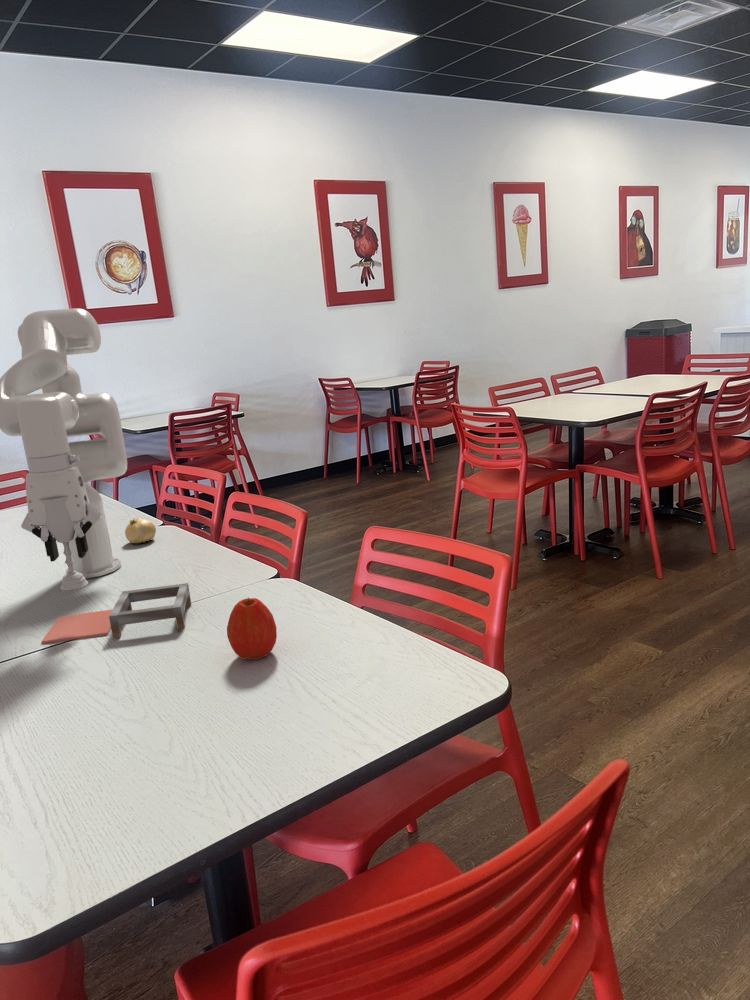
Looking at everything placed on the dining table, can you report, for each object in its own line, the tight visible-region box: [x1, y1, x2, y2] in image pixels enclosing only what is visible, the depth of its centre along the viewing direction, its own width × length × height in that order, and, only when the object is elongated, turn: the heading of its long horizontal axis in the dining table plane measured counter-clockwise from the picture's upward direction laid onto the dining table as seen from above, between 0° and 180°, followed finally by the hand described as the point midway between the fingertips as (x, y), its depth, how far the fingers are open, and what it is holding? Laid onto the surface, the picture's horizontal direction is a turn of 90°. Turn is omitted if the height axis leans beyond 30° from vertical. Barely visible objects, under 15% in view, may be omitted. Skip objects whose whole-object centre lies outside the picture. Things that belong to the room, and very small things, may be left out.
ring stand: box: [109, 582, 192, 640], centre depth 139 cm, size 13×13×5 cm
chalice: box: [39, 496, 89, 591], centre depth 135 cm, size 7×7×18 cm
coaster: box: [40, 608, 113, 645], centre depth 139 cm, size 12×12×1 cm
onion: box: [124, 517, 157, 544], centre depth 194 cm, size 8×8×7 cm
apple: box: [226, 597, 278, 660], centre depth 119 cm, size 8×8×11 cm
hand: (68, 556), depth 136 cm, fingers closed on chalice, 4 cm apart
